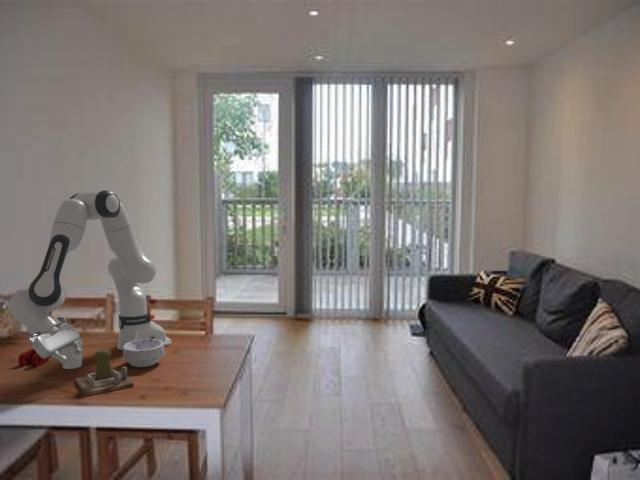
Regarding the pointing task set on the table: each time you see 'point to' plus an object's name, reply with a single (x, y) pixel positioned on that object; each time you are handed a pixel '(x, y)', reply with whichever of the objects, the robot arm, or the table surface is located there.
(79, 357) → the white cup
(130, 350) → the paper bowls
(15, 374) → the table surface
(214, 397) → the table surface
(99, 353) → the olive brown peg
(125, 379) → the peg board
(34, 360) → the mechanical linkage
